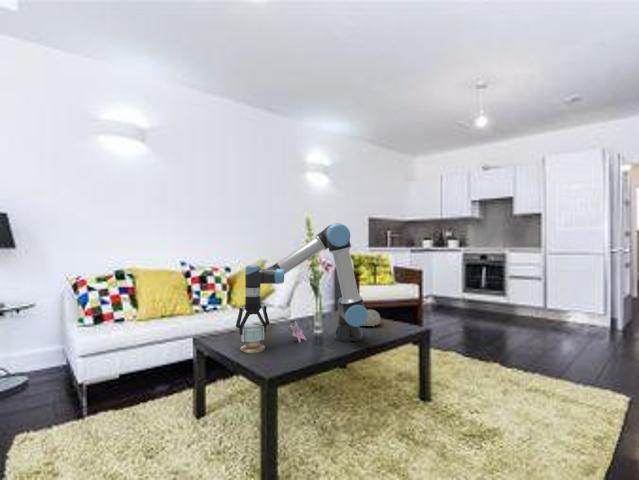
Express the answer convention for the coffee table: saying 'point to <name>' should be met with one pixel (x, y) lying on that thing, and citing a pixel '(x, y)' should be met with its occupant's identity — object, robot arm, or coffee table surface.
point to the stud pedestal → (252, 347)
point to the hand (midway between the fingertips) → (252, 340)
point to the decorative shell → (372, 318)
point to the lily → (297, 332)
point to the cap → (252, 333)
